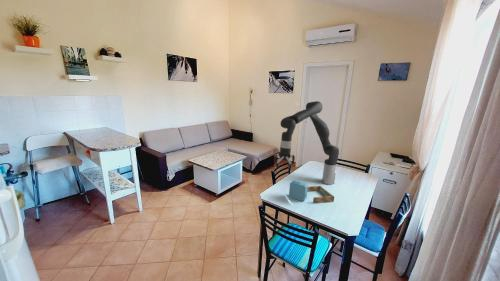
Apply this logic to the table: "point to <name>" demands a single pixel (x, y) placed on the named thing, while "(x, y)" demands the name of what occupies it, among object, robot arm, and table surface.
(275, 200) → the table surface
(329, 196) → the brown wooden u shape
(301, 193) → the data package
